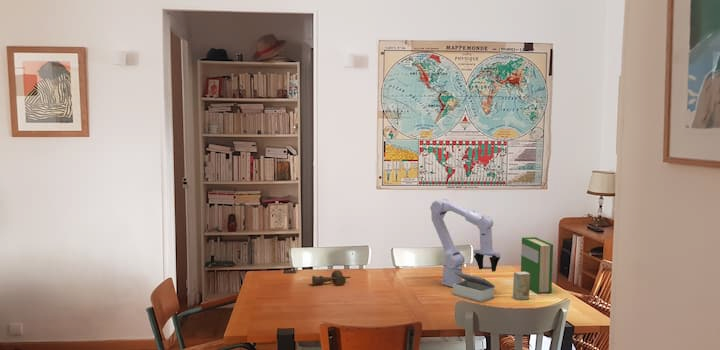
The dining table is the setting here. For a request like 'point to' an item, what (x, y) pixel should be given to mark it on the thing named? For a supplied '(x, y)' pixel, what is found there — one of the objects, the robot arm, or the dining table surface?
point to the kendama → (330, 278)
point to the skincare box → (521, 285)
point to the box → (473, 291)
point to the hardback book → (537, 263)
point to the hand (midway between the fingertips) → (487, 270)
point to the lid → (474, 279)
